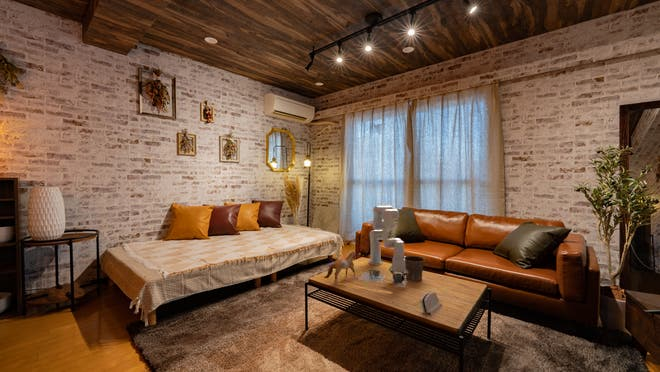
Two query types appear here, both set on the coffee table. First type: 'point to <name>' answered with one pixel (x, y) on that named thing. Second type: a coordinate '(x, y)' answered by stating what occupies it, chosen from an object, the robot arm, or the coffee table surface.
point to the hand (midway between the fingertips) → (398, 280)
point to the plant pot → (414, 267)
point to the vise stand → (372, 276)
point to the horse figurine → (342, 266)
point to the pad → (401, 284)
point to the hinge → (430, 303)
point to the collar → (398, 277)
